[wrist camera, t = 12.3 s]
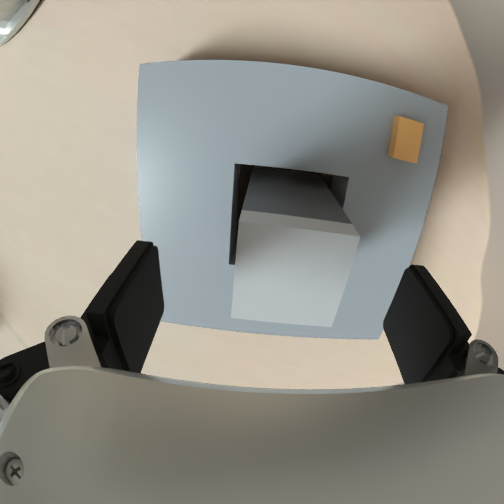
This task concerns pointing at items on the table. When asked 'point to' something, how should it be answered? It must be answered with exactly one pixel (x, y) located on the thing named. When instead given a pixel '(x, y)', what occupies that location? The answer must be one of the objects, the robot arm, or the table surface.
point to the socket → (282, 156)
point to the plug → (291, 250)
